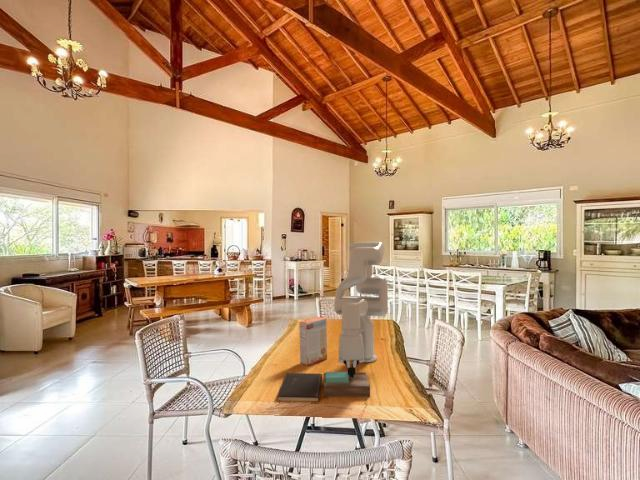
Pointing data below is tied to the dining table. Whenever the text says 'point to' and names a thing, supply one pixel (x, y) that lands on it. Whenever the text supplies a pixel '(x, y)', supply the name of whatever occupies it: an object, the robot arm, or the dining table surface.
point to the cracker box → (313, 340)
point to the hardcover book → (300, 387)
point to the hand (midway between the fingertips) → (351, 376)
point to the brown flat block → (348, 387)
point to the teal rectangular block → (336, 377)
